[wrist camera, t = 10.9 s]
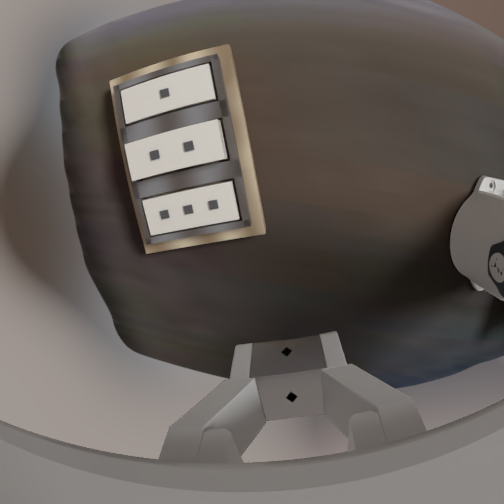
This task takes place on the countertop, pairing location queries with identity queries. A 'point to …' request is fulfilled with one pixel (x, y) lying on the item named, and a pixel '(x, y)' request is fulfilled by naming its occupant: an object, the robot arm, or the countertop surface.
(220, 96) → the key panel
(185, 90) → the key one
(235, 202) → the key three
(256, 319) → the countertop surface
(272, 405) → the robot arm
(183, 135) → the key two
